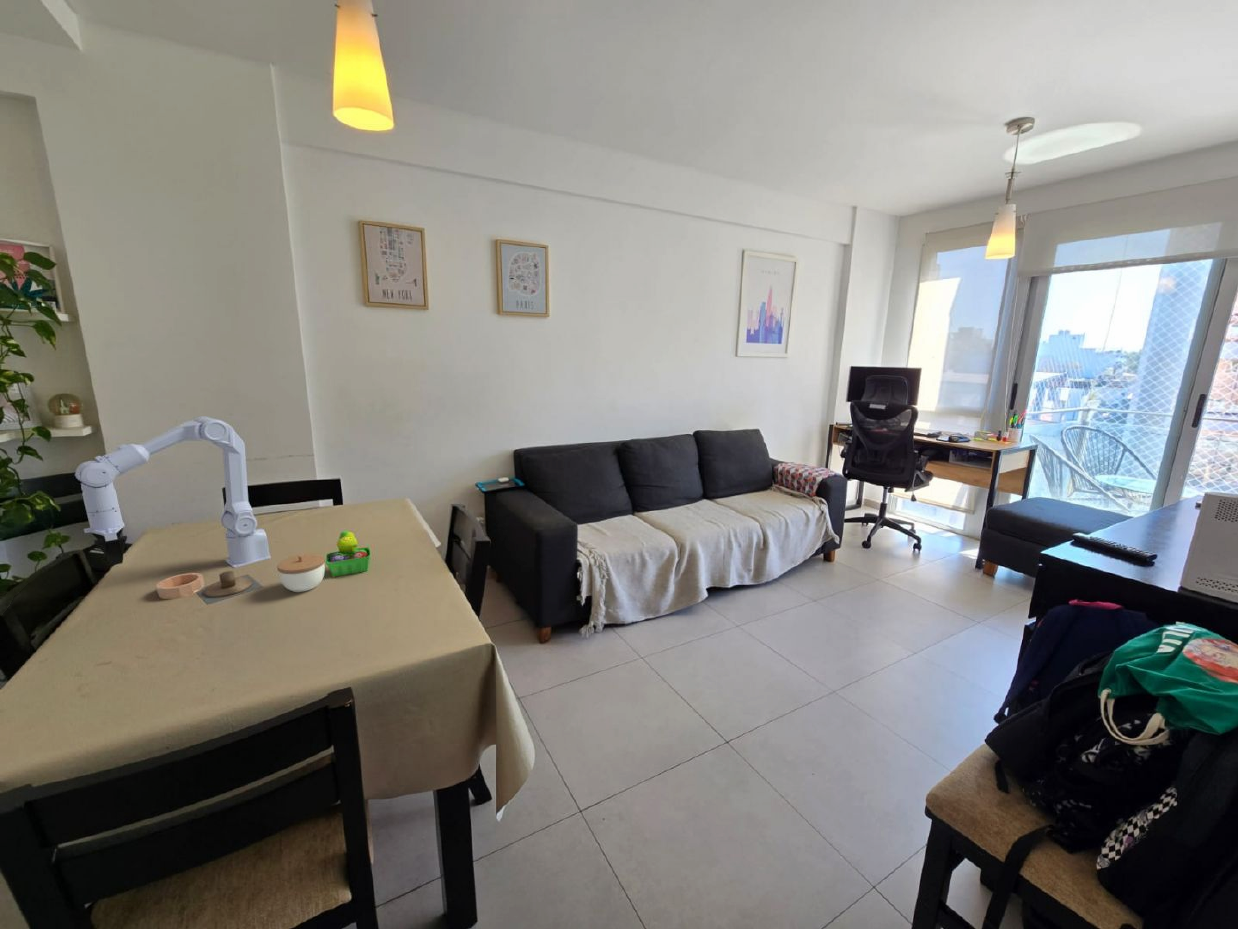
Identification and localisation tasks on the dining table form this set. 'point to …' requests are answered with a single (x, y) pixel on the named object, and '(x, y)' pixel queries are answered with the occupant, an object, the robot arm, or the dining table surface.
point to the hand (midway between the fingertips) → (115, 559)
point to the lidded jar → (302, 572)
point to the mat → (211, 600)
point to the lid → (228, 585)
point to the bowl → (180, 585)
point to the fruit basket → (348, 556)
